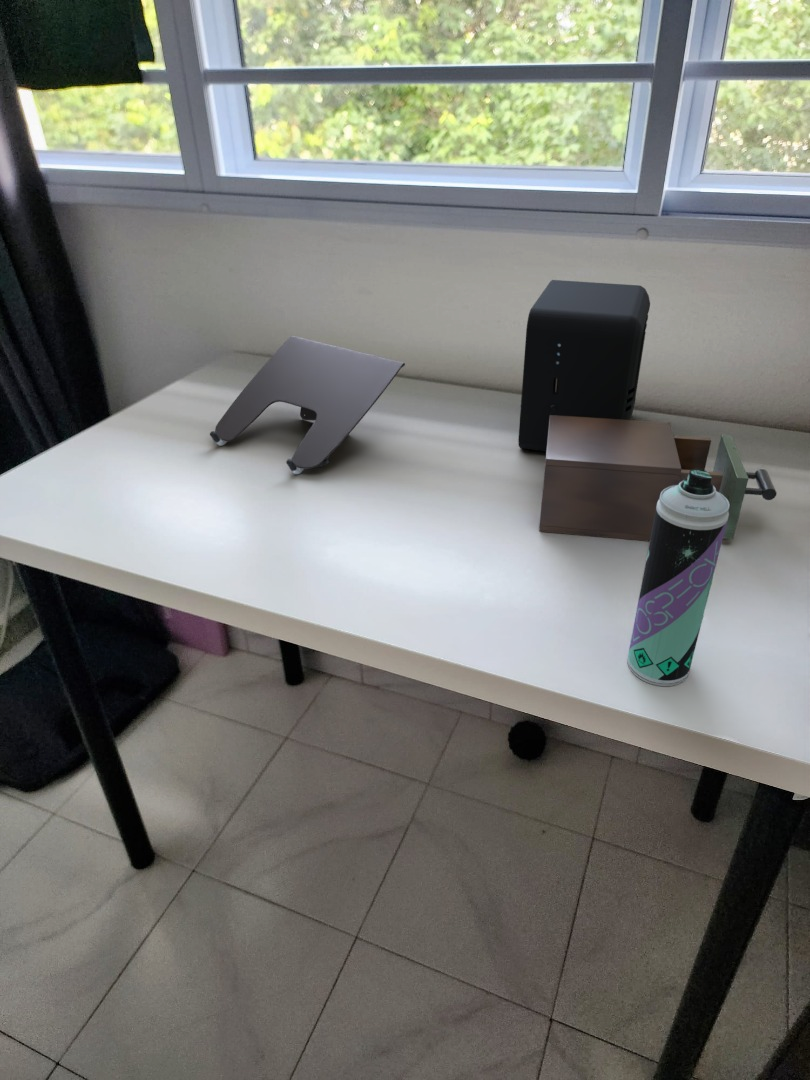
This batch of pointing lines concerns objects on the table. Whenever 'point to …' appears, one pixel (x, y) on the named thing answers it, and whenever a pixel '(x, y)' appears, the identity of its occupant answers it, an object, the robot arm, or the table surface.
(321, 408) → the laptop tray
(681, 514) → the spray can
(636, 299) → the black nas enclosure
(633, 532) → the cabinet
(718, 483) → the drawer
